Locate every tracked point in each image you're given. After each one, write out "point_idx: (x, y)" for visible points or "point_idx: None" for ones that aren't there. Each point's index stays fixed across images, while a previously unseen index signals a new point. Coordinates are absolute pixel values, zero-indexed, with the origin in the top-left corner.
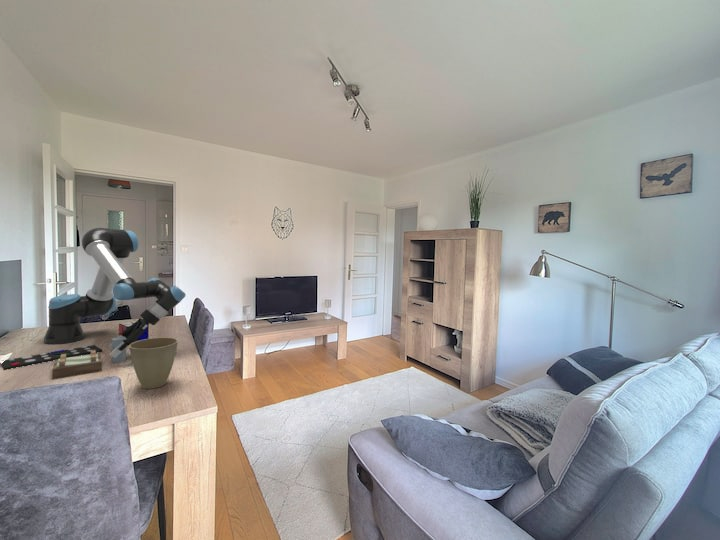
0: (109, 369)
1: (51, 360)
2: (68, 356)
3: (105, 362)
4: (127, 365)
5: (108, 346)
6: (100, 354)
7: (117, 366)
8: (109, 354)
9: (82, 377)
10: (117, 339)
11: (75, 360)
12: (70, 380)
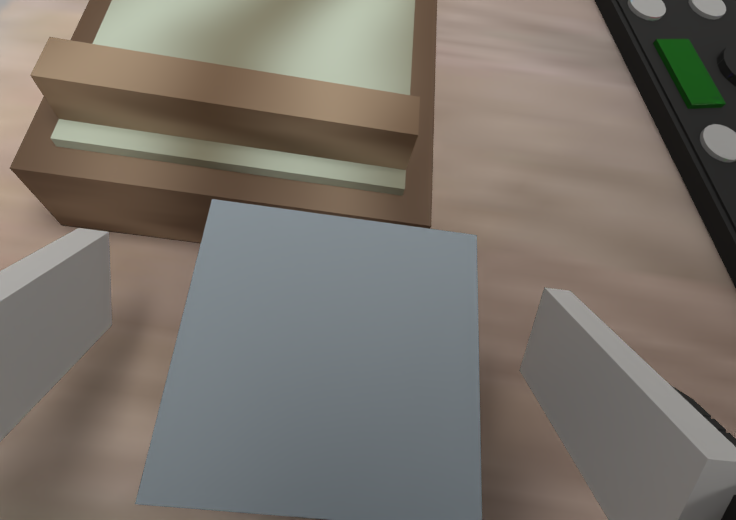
0: None
1: (615, 28)
2: (660, 101)
3: None
4: (14, 478)
5: (545, 294)
6: (372, 214)
7: (81, 371)
8: (79, 231)
9: (8, 91)
10: (246, 299)
11: (258, 12)
12: (12, 31)
